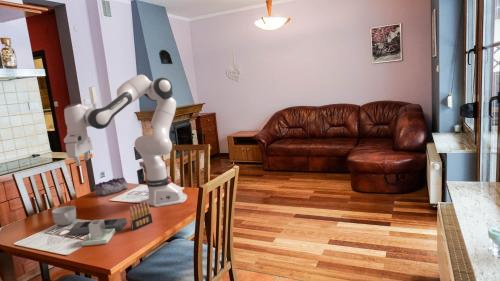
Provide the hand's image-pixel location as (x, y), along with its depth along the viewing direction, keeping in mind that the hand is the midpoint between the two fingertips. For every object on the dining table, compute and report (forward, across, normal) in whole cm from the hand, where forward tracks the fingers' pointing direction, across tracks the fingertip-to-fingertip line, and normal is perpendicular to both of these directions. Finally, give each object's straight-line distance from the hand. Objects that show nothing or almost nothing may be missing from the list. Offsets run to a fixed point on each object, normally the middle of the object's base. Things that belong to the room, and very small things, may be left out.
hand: (82, 162), depth 172 cm
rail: (+31, +14, +9) cm, 35 cm away
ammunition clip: (+31, +15, +30) cm, 46 cm away
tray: (+31, +25, +13) cm, 42 cm away
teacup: (+31, +4, -12) cm, 34 cm away
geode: (+31, -43, -5) cm, 54 cm away
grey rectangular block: (+31, +25, +13) cm, 42 cm away
